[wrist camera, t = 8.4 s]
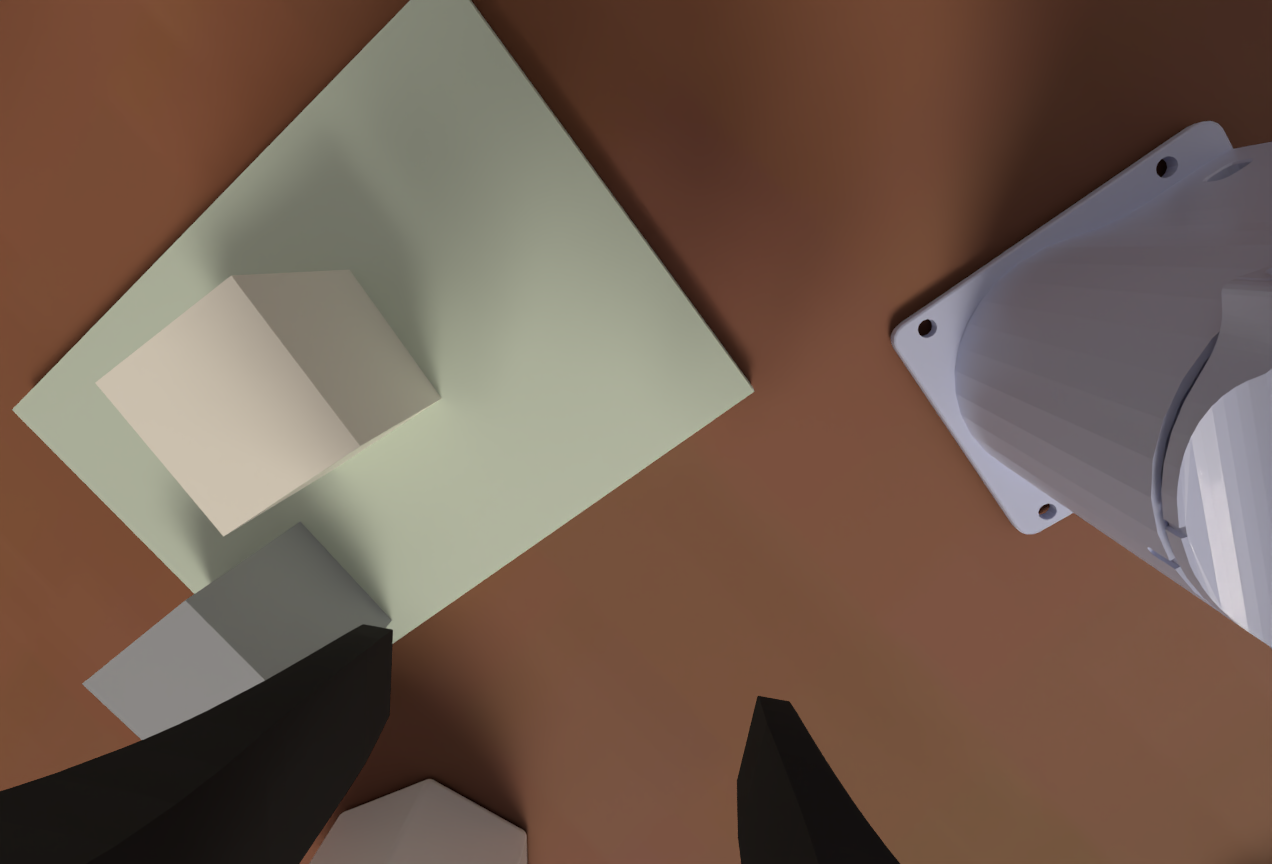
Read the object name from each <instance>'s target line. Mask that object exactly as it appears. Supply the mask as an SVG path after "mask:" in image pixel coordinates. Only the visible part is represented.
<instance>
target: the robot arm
mask: <svg viewBox="0 0 1272 864" xmlns="http://www.w3.org/2000/svg"><path fill="white" fill-rule="evenodd" d="M1161 159H1163V160H1164V161H1165V162H1166V165H1167V169H1166V172H1165V174H1164V175H1163V176H1162V177H1160V176H1159V175H1157V172H1156V167H1157V164H1158V162H1159V161H1160V160H1161ZM927 319H929V320H930V321H931V324H932V328H931V331H930V332H929V333H928V334H927V335H924V336H921V335H919V332H918V327H919V324H920V323H921V322H922V321H924V320H927ZM891 344H892V346H893V348H894V350H895V351H896V353H897V354H898V356H899V357H900V359H901V360H902V362H903V363H904V365H905V366H906V368H907V369H908V371H909V372H910V373H911V375H912V376H913V378H914V379H915V381H916V382H917V384H918V385H919V387H920V388H921V390H922V391H923V393H924V394H925V396H926V397H927V399H928V400H929V402H930V403H931V405H932V406H933V408H934V409H935V411H936V412H937V414H938V415H939V417H940V418H941V420H942V421H943V423H944V424H945V426H946V427H947V429H948V430H949V432H950V433H951V435H952V436H953V438H954V439H955V440H956V442H957V443H958V445H959V446H960V448H961V449H962V451H963V452H964V454H965V455H966V457H967V458H968V460H969V461H970V463H971V464H972V466H973V467H974V469H975V470H976V472H977V473H978V475H979V476H980V478H981V479H982V481H983V482H984V484H985V485H986V487H987V488H988V490H989V491H990V493H991V494H992V496H993V497H994V499H995V500H996V502H997V503H998V504H999V506H1000V507H1001V509H1002V510H1003V512H1004V513H1005V515H1006V516H1007V518H1008V519H1009V521H1010V522H1011V524H1012V525H1013V526H1014V527H1015V528H1016V529H1018V530H1019V531H1020V532H1021V533H1024V534H1035V533H1038V532H1040V531H1042V530H1044V529H1045V528H1047V527H1049V526H1051V525H1053V524H1054V523H1056V522H1058V521H1060V520H1061V519H1063V518H1065V517H1067V516H1069V515H1070V514H1072V513H1075V514H1076V515H1078V516H1079V517H1080V518H1082V519H1083V520H1085V521H1086V522H1088V523H1089V524H1091V525H1092V526H1094V527H1095V528H1097V529H1098V530H1100V531H1101V532H1103V533H1104V534H1105V535H1107V536H1108V537H1110V538H1111V539H1113V540H1114V541H1116V542H1117V543H1119V544H1120V545H1122V546H1123V547H1125V548H1126V549H1128V550H1129V551H1130V552H1132V553H1133V554H1135V555H1136V556H1138V557H1139V558H1141V559H1142V560H1144V561H1145V562H1147V563H1148V564H1150V565H1151V566H1153V567H1154V568H1155V569H1157V570H1158V571H1160V572H1161V573H1163V574H1164V575H1166V576H1167V577H1169V578H1170V579H1172V580H1173V581H1175V582H1176V583H1177V584H1179V585H1180V586H1182V587H1183V588H1185V589H1186V590H1188V591H1189V592H1191V593H1192V594H1194V595H1195V596H1197V597H1198V598H1200V599H1201V600H1202V601H1204V602H1205V603H1207V604H1208V605H1210V606H1211V607H1213V608H1214V609H1216V610H1217V611H1219V612H1220V613H1222V614H1223V615H1224V616H1226V617H1227V618H1229V619H1230V620H1232V621H1233V622H1235V623H1236V624H1237V625H1239V626H1240V627H1242V628H1243V629H1245V630H1246V631H1248V632H1249V633H1251V634H1252V635H1254V636H1255V637H1257V638H1258V639H1260V640H1261V641H1263V642H1264V643H1266V644H1267V645H1269V646H1270V647H1271V648H1272V142H1267V143H1262V144H1256V145H1251V146H1246V147H1241V148H1235V149H1233V147H1232V145H1231V143H1230V141H1229V139H1228V137H1227V135H1226V133H1225V132H1224V130H1223V128H1222V127H1221V126H1220V125H1219V124H1218V123H1216V122H1213V121H1203V122H1199V123H1195V124H1193V125H1190V126H1188V127H1186V128H1185V129H1183V130H1182V131H1180V132H1179V133H1177V134H1176V135H1174V136H1173V137H1171V138H1170V139H1169V140H1167V141H1166V142H1164V143H1163V144H1161V145H1160V146H1158V147H1157V148H1155V149H1154V150H1152V151H1151V152H1150V153H1148V154H1147V155H1145V156H1144V157H1142V158H1141V159H1139V160H1138V161H1136V162H1135V163H1133V164H1132V165H1131V166H1129V167H1128V168H1126V169H1125V170H1123V171H1122V172H1120V173H1119V174H1117V175H1116V176H1114V177H1113V178H1112V179H1110V180H1109V181H1107V182H1106V183H1104V184H1103V185H1101V186H1100V187H1098V188H1097V189H1095V190H1094V191H1092V192H1091V193H1090V194H1088V195H1087V196H1085V197H1084V198H1082V199H1081V200H1079V201H1078V202H1076V203H1075V204H1073V205H1072V206H1071V207H1069V208H1068V209H1066V210H1065V211H1063V212H1062V213H1060V214H1059V215H1057V216H1056V217H1054V218H1053V219H1052V220H1050V221H1049V222H1047V223H1046V224H1044V225H1043V226H1041V227H1040V228H1038V229H1037V230H1035V231H1034V232H1033V233H1031V234H1030V235H1028V236H1027V237H1025V238H1024V239H1022V240H1021V241H1019V242H1018V243H1016V244H1015V245H1013V246H1012V247H1011V248H1009V249H1008V250H1006V251H1005V252H1003V253H1002V254H1000V255H999V256H997V257H996V258H994V259H993V260H992V261H990V262H989V263H987V264H986V265H984V266H983V267H981V268H980V269H978V270H977V271H975V272H974V273H973V274H971V275H970V276H968V277H967V278H965V279H964V280H962V281H961V282H959V283H958V284H956V285H955V286H954V287H952V288H951V289H949V290H948V291H946V292H945V293H943V294H942V295H940V296H939V297H937V298H936V299H935V300H933V301H932V302H930V303H929V304H927V305H926V306H924V307H923V308H921V309H920V310H918V311H917V312H915V313H914V314H913V315H911V316H910V317H908V318H907V319H905V320H904V321H902V322H901V323H899V324H898V325H897V326H896V327H895V328H894V330H893V332H892V334H891ZM1045 504H1049V505H1050V507H1049V510H1048V511H1047V512H1046V513H1044V514H1041V515H1040V514H1039V513H1038V512H1039V509H1040V508H1041V507H1042V506H1043V505H1045ZM392 642H393V629H387V628H382V627H376V626H371V625H365V624H362V625H360V626H359V627H357V628H355V629H353V630H351V631H350V632H348V633H346V634H344V635H343V636H341V637H339V638H337V639H336V640H334V641H332V642H331V643H329V644H327V645H326V646H324V647H322V648H321V649H319V650H317V651H315V652H314V653H312V654H310V655H309V656H307V657H305V658H303V659H302V660H300V661H298V662H296V663H295V664H293V665H291V666H289V667H288V668H286V669H284V670H282V671H281V672H279V673H277V674H276V675H274V676H272V677H270V678H269V679H267V680H265V681H263V682H261V683H259V684H257V685H255V686H254V687H252V688H250V689H248V690H246V691H244V692H242V693H240V694H238V695H236V696H234V697H232V698H231V699H229V700H227V701H225V702H223V703H221V704H219V705H217V706H215V707H213V708H211V709H210V710H208V711H205V712H203V713H201V714H199V715H197V716H195V717H193V718H191V719H189V720H187V721H184V722H182V723H180V724H178V725H176V726H174V727H171V728H169V729H167V730H164V731H162V732H160V733H158V734H155V735H153V736H151V737H148V738H146V739H144V740H141V741H139V742H137V743H134V744H132V745H129V746H127V747H124V748H122V749H119V750H116V751H114V752H111V753H108V754H106V755H103V756H100V757H98V758H95V759H92V760H90V761H87V762H84V763H82V764H79V765H76V766H74V767H71V768H68V769H66V770H63V771H61V772H58V773H55V774H52V775H49V776H46V777H43V778H40V779H37V780H34V781H31V782H28V783H25V784H22V785H19V786H16V787H13V788H10V789H6V790H3V791H0V864H299V863H300V862H301V860H302V859H303V857H304V856H305V854H306V853H307V851H308V850H309V848H310V847H311V845H312V844H313V842H314V841H315V839H316V838H317V836H318V835H319V833H320V832H321V830H322V829H323V827H324V826H325V824H326V823H327V821H328V820H329V818H330V817H331V815H332V814H333V812H334V811H335V809H336V808H337V806H338V805H339V803H340V802H341V800H342V799H343V797H344V796H345V794H346V793H347V791H348V790H349V788H350V787H351V785H352V783H353V782H354V780H355V779H356V777H357V776H358V774H359V773H360V771H361V770H362V768H363V766H364V765H365V763H366V761H367V759H368V757H369V755H370V753H371V751H372V749H373V748H374V746H375V744H376V742H377V740H378V738H379V736H380V734H381V732H382V730H383V728H384V725H385V723H386V721H387V719H388V717H389V715H390V691H391V666H392ZM737 812H738V840H739V848H740V857H741V864H900V863H899V862H898V861H897V859H896V858H895V857H894V856H893V854H892V853H891V852H890V851H889V849H888V848H887V847H886V846H885V844H884V843H883V842H882V840H881V839H880V838H879V836H878V835H877V834H876V832H875V831H874V830H873V828H872V827H871V826H870V824H869V823H868V822H867V820H866V819H865V818H864V816H863V815H862V813H861V812H860V810H859V809H858V808H857V806H856V805H855V803H854V802H853V800H852V799H851V797H850V796H849V794H848V793H847V792H846V790H845V789H844V787H843V786H842V784H841V783H840V781H839V780H838V778H837V777H836V775H835V774H834V772H833V771H832V769H831V767H830V766H829V764H828V763H827V761H826V760H825V758H824V756H823V755H822V753H821V752H820V750H819V748H818V747H817V745H816V744H815V742H814V740H813V739H812V737H811V735H810V734H809V732H808V731H807V729H806V727H805V726H804V724H803V722H802V721H801V719H800V717H799V716H798V714H797V712H796V711H795V709H794V707H793V706H792V705H791V703H790V702H789V701H783V700H778V699H772V698H767V697H761V696H758V697H757V701H756V705H755V709H754V713H753V717H752V722H751V726H750V730H749V734H748V738H747V742H746V746H745V750H744V754H743V759H742V763H741V767H740V771H739V775H738V779H737Z"/></svg>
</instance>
